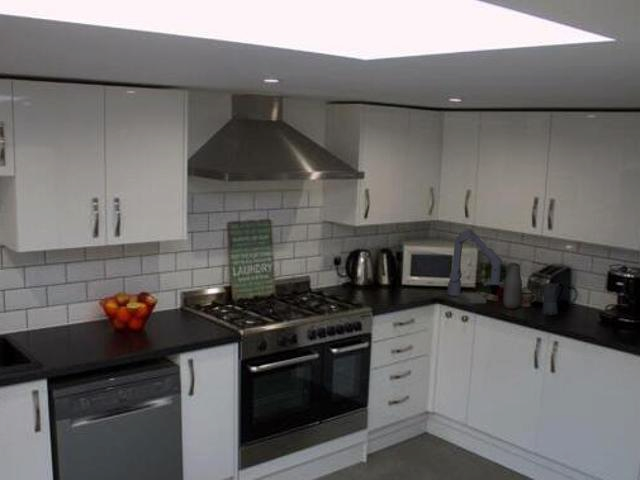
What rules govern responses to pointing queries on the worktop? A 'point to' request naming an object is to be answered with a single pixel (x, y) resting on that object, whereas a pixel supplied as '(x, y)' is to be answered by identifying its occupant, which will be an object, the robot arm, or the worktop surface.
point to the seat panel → (473, 297)
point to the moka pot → (550, 297)
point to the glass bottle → (512, 286)
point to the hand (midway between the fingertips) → (494, 296)
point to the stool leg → (488, 296)
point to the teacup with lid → (526, 297)
